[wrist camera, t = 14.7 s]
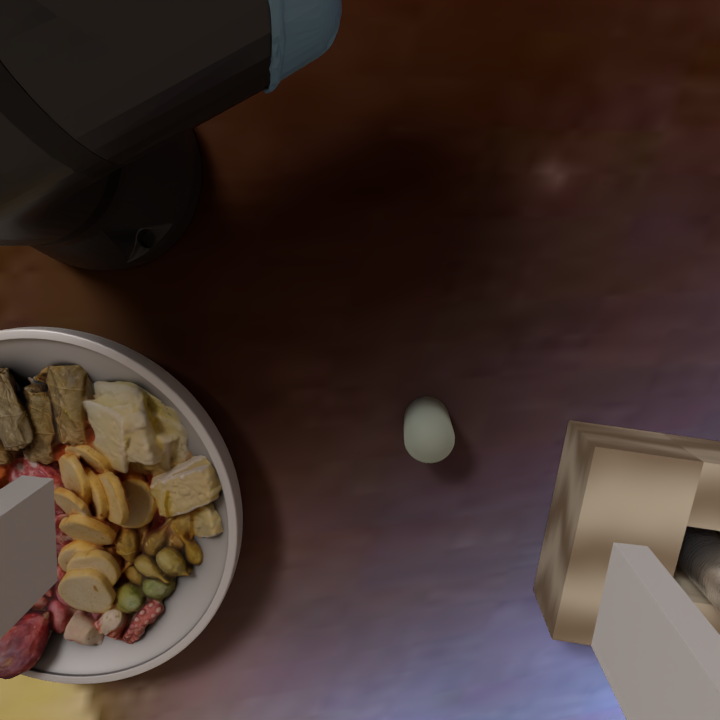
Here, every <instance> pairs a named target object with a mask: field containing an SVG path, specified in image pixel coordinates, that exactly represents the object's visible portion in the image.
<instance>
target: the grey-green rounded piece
mask: <svg viewBox="0 0 720 720" xmlns="http://www.w3.org/2000/svg"><path fill="white" fill-rule="evenodd" d="M454 443H455V435H454V431H453V427H452V424H451V420H450V417H449V413H448V410H447V408H446V406H445V405H444V404H443V403H442V402H441V401H440V400H438V399H436V398H433V397H428V396H426V397H420V398H417V399H415V400H413V401H412V402H411V403H410V404H409V405H408V406H407V408H406V410H405V413H404V444H405V447H406V449H407V451H408V453H409V454H410V455H411V456H412V457H413V458H415V459H416V460H418V461H421V462H424V463H435V462H439V461H441V460H443V459H444V458H446V457H447V456H448V455H449V454H450V453H451V451H452V449H453V447H454Z"/></svg>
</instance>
